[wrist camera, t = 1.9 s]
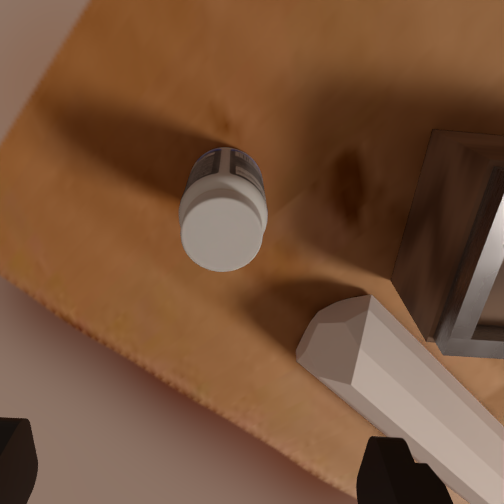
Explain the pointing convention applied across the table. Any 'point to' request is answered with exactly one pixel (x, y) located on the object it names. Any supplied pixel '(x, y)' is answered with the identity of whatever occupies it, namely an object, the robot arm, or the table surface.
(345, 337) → the crystal
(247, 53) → the table surface
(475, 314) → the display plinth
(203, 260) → the pill bottle
